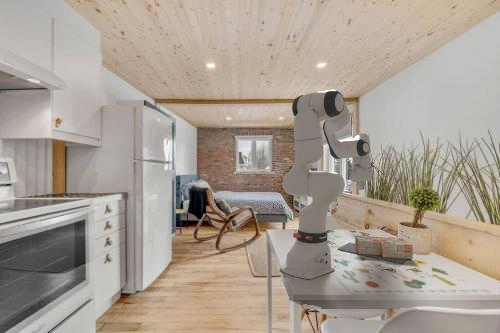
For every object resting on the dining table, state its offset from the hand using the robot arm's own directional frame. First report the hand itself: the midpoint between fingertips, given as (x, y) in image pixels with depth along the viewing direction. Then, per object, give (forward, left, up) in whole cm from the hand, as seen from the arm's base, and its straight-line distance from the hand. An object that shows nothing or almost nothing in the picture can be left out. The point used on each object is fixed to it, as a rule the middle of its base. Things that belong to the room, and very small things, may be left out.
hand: (361, 189), depth 133 cm
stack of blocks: (-6, -9, -26) cm, 28 cm away
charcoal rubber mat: (-11, -9, -29) cm, 32 cm away
